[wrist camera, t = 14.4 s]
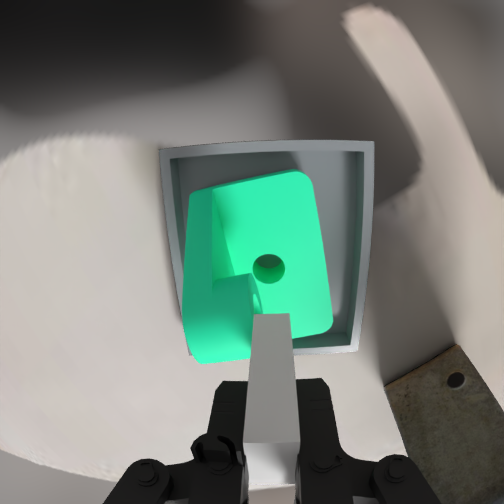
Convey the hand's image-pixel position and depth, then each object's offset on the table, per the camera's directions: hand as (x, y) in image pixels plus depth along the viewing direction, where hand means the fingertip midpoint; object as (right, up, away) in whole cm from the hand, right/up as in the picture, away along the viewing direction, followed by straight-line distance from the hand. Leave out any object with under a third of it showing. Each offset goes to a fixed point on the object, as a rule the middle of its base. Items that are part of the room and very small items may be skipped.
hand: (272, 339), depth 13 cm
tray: (+1, +4, +10) cm, 11 cm away
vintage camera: (+21, -13, +16) cm, 29 cm away
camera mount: (0, +4, +10) cm, 11 cm away
